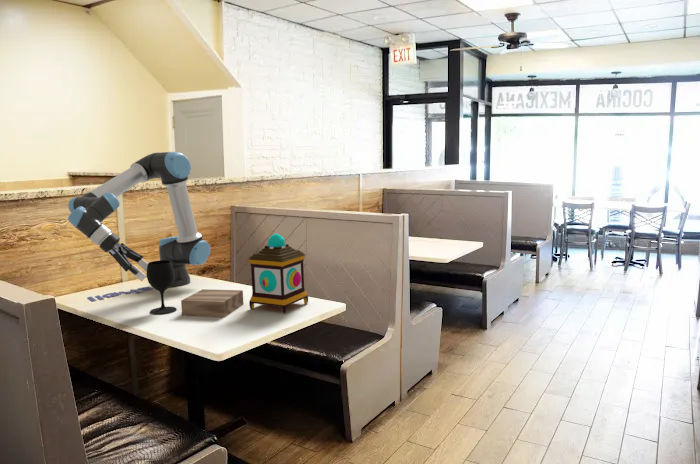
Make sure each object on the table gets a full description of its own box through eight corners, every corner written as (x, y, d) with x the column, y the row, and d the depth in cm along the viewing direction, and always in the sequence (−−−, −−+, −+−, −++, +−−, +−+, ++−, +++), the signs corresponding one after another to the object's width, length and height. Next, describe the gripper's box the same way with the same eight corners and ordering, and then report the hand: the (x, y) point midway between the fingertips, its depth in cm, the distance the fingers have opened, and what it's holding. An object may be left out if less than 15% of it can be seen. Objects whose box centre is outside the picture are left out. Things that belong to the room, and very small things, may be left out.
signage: (148, 286, 264) (156, 289, 257) (148, 287, 264) (156, 290, 257) (85, 296, 246) (92, 300, 238) (86, 298, 246) (92, 302, 239)
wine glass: (165, 315, 214) (162, 265, 212) (144, 313, 218) (140, 264, 215) (182, 308, 224) (178, 260, 221) (160, 306, 227) (157, 259, 225)
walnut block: (203, 303, 231) (202, 289, 230) (243, 304, 228) (242, 290, 227) (182, 315, 214) (181, 300, 213) (225, 317, 210) (224, 301, 209)
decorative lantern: (244, 310, 219) (240, 235, 215) (273, 298, 237) (270, 229, 232) (286, 315, 210) (282, 238, 206) (313, 302, 227) (310, 231, 223)
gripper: (108, 241, 226) (148, 275, 230) (88, 251, 201) (134, 289, 205) (120, 228, 226) (161, 262, 230) (102, 236, 201) (147, 274, 205)
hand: (148, 275), depth 217 cm, fingers open, 13 cm apart
